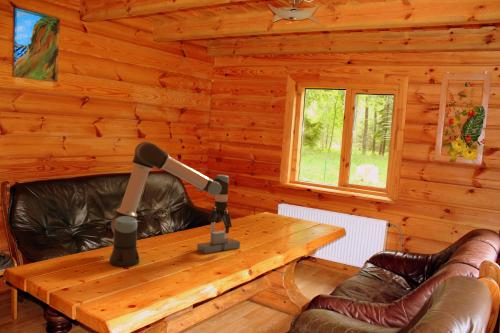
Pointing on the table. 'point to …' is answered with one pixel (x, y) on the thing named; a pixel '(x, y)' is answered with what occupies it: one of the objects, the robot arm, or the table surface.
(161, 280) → the table surface
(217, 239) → the upright grey box
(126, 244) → the robot arm
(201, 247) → the block with rectangular hole
